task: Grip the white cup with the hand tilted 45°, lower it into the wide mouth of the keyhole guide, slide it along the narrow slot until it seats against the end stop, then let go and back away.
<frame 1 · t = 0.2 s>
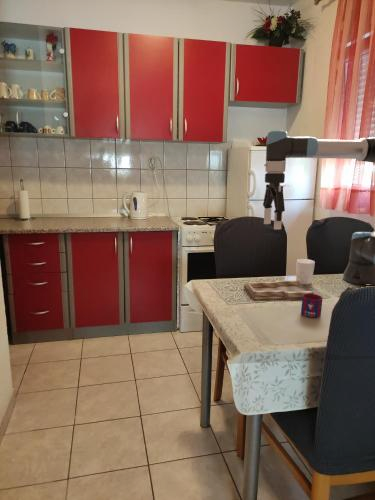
hand: (272, 226, 147), 28 cm above the table, tool pointing down, fingers open, 13 cm apart
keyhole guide: (277, 292, 152), on the table
mug: (311, 313, 131), on the table
white cup: (303, 282, 166), on the table
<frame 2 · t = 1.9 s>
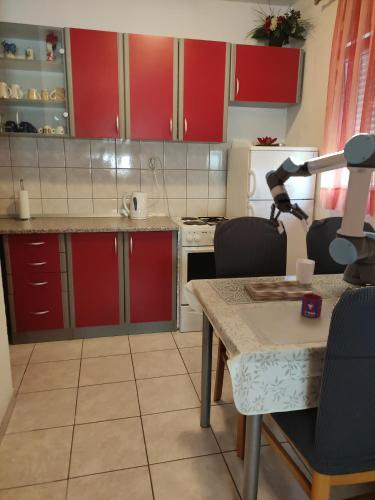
hand: (294, 231, 171), 21 cm above the table, tool tilted 45°, fingers open, 13 cm apart
nothing on the table moved.
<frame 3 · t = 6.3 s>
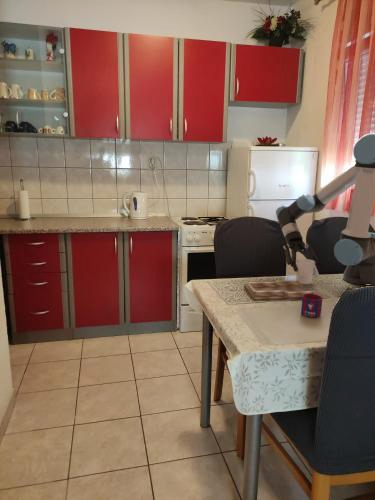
hand: (308, 276, 162), 4 cm above the table, tool tilted 45°, fingers closed on white cup, 8 cm apart
white cup: (303, 282, 166), on the table, touching gripper
everything else where it was.
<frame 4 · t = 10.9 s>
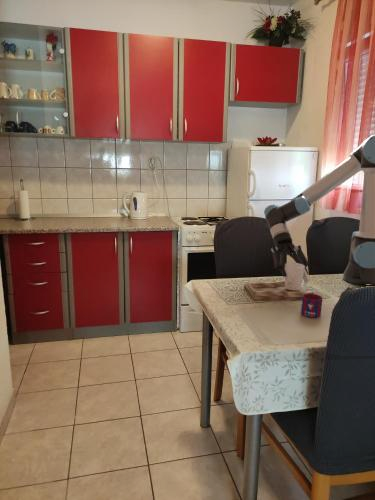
hand: (298, 282, 148), 5 cm above the table, tool tilted 45°, fingers closed on white cup, 8 cm apart
white cup: (292, 288, 153), point 2 cm above the table, touching gripper
everything else where it was.
when the fingers open (5 cm above the table, at t = 15.6 s): white cup stays where it is, resting on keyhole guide.
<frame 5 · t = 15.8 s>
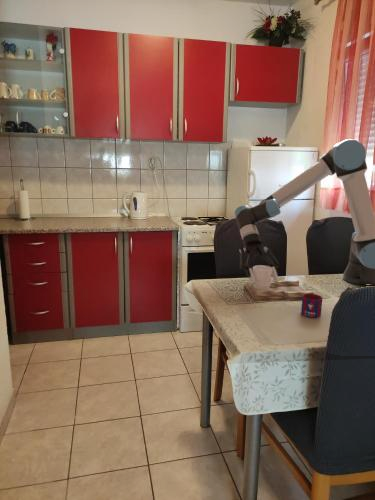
hand: (265, 282, 147), 5 cm above the table, tool tilted 45°, fingers open, 10 cm apart
white cup: (260, 291, 151), point 1 cm above the table, touching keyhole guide
everything else where it was.
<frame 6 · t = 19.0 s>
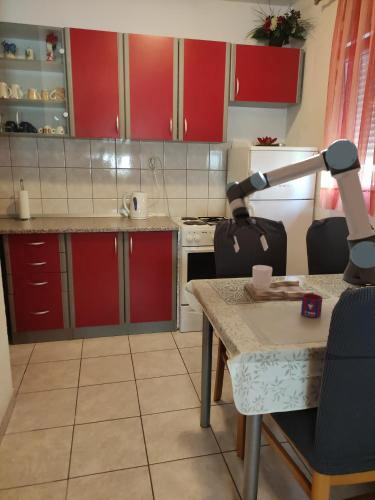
hand: (252, 250, 157), 16 cm above the table, tool tilted 45°, fingers open, 13 cm apart
nothing on the table moved.
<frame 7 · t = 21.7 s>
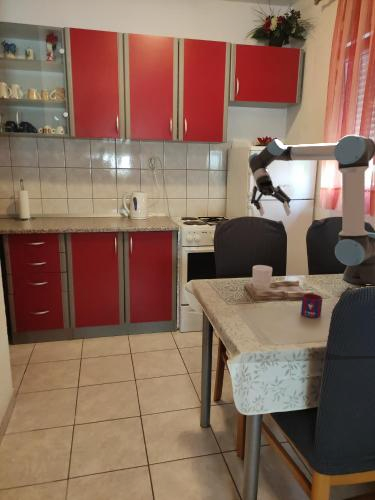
hand: (276, 214, 169), 30 cm above the table, tool tilted 45°, fingers open, 13 cm apart
nothing on the table moved.
at the end: white cup 0.5 cm from the target spot on the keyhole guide, point 0.6 cm above the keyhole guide's base; white cup tilted 0°; the gripper is holding nothing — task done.
